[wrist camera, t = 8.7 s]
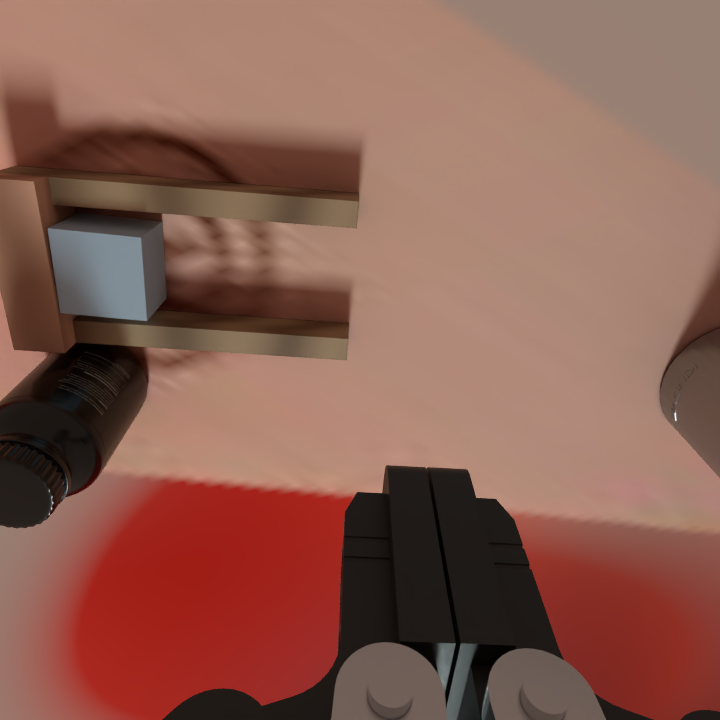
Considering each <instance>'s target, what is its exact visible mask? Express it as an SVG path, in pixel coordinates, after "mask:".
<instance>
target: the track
mask: <svg viewBox="0 0 720 720" xmlns="http://www.w3.org/2000/svg"><path fill="white" fill-rule="evenodd" d="M75 207H87V208H100V209H113V210H126V211H139V212H152V213H165V214H178V215H191V216H204V217H217V218H230V219H243V220H256V221H269V222H282V223H295V224H308V225H320V226H333V227H346V228H357V221H358V208H359V193H350V192H338V191H325V190H313V189H300V188H288V187H275V186H263V185H250V184H238V183H225V182H213V181H200V180H188V179H175V178H163V177H150V176H138V175H125V174H113V173H100V172H88V171H75V170H63V169H50V168H38V167H25V166H14V167H10V168H6V169H2V170H0V291H1V295H2V299H3V304H4V308H5V312H6V317H7V321H8V326H9V330H10V334H11V339H12V343H13V348H14V350H25V351H41V352H56V353H66V352H67V351H68V350H69V349H70V348H71V347H72V346H73V345H74V344H75V343H76V342H77V343H92V344H108V345H123V346H138V347H153V348H168V349H183V350H199V351H214V352H229V353H244V354H259V355H274V356H289V357H305V358H320V359H335V360H347V350H348V331H349V323H337V322H322V321H308V320H294V319H279V318H265V317H250V316H236V315H221V314H207V313H192V312H178V311H163V310H156V311H155V312H154V314H153V315H152V316H151V317H150V318H149V319H148V321H140V320H129V319H118V318H108V317H97V316H86V315H75V314H65V313H60V308H59V302H58V295H57V288H56V282H55V275H54V268H53V261H52V255H51V248H50V241H49V235H48V228H49V227H51V226H53V225H55V224H57V223H59V222H61V221H63V220H65V219H67V218H69V217H71V216H73V215H75V214H76V213H75Z"/></svg>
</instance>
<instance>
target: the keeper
mask: <svg viewBox="0 0 720 720" xmlns="http://www.w3.org/2000/svg"><path fill="white" fill-rule="evenodd" d="M48 235H49V241H50V248H51V255H52V261H53V268H54V275H55V282H56V288H57V295H58V302H59V308H60V313H65V314H75V315H86V316H97V317H108V318H118V319H129V320H140V321H148V319H149V318H150V317H151V316H152V315H153V314H154V312H155V311H156V310H157V309H158V308H159V306H160V305H161V304H162V303H163V302H164V301H165V299H166V298H167V292H166V274H165V256H164V237H163V221H155V220H145V219H135V218H126V217H116V216H106V215H96V214H87V213H77V214H75V215H73V216H71V217H69V218H67V219H65V220H63V221H61V222H59V223H57V224H55V225H53V226H51V227H49V228H48Z"/></svg>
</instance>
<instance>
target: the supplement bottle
mask: <svg viewBox="0 0 720 720" xmlns="http://www.w3.org/2000/svg"><path fill="white" fill-rule="evenodd" d="M146 396H147V380H146V376H145V373H144V371H143V369H142V367H141V365H140V364H139V362H138V361H137V360H136V359H135V358H134V357H133V356H132V355H131V354H130V353H129V352H128V351H127V350H125V349H124V348H122V347H121V346H119V345H108V344H92V343H77V342H76V343H75V344H74V345H73V346H72V347H71V348H70V349H69V350H68V351H67V352H66V353H56V352H52V353H51V354H50V355H49V356H47V357H46V358H45V359H44V360H43V361H42V362H41V363H40V364H39V365H38V366H37V367H36V368H35V369H34V370H33V371H32V372H31V373H30V374H28V375H27V376H26V377H25V378H24V379H23V380H22V381H21V382H20V383H19V384H18V385H17V386H16V387H15V388H14V389H13V390H12V391H11V392H10V393H8V394H7V395H6V396H5V397H4V398H3V399H2V400H1V401H0V525H3V526H6V527H14V528H20V527H21V528H27V527H32V526H35V525H36V524H41V523H42V522H43V521H44V520H46V519H48V517H49V516H50V515H51V514H52V513H53V511H54V510H55V509H56V507H57V506H58V504H60V503H61V502H62V501H63V499H64V498H65V497H68V496H72V495H74V494H77V493H79V492H81V491H83V490H84V489H86V488H88V487H89V486H90V485H91V484H92V483H93V482H94V481H95V480H96V479H97V478H98V476H99V475H100V473H101V472H102V470H103V469H104V467H105V466H106V464H107V462H108V461H109V459H110V458H111V456H112V454H113V453H114V451H115V450H116V448H117V446H118V445H119V443H120V442H121V440H122V438H123V437H124V435H125V434H126V432H127V430H128V429H129V427H130V426H131V424H132V422H133V421H134V419H135V418H136V416H137V414H138V413H139V411H140V409H141V407H142V406H143V404H144V401H145V399H146Z"/></svg>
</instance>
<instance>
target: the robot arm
mask: <svg viewBox="0 0 720 720" xmlns="http://www.w3.org/2000/svg"><path fill="white" fill-rule="evenodd" d="M660 404H661V407H662V411H663V413H664V415H665V417H666V418H667V420H668V421H669V422H670V424H671V425H672V426H673V427H674V428H675V429H676V430H677V431H678V432H679V433H680V434H681V436H682V437H683V438H684V439H685V440H686V441H687V442H688V443H689V444H690V445H691V447H692V448H693V449H694V450H695V451H696V452H697V453H698V455H699V456H700V457H701V458H702V459H703V460H704V461H705V462H706V463H707V464H708V465H709V467H710V468H711V469H712V470H713V471H714V472H715V473H716V474H717V475H718V476H719V478H720V328H719V329H716V330H714V331H712V332H710V333H708V334H705V335H703V336H701V337H700V338H698V339H697V340H696V341H694V342H693V343H691V344H690V345H688V346H687V347H686V348H685V349H684V350H683V351H682V352H681V353H680V354H679V355H678V356H677V357H676V359H675V360H674V361H673V362H672V364H671V365H670V366H669V368H668V370H667V372H666V374H665V376H664V378H663V382H662V385H661V389H660ZM529 565H530V564H529V561H528V558H527V556H526V553H525V550H524V549H523V548H522V541H521V538H520V535H519V532H518V530H517V527H516V524H515V521H514V519H513V518H512V517H511V516H510V515H509V513H508V512H507V511H506V510H505V509H504V508H503V507H502V505H501V504H500V503H499V502H498V501H497V500H496V499H486V498H476V496H475V492H474V489H473V485H472V481H471V478H470V474H469V472H468V470H466V469H450V468H431V467H428V468H427V469H426V468H425V467H408V466H389V465H386V468H385V474H384V483H383V492H382V493H363V492H357V494H356V495H355V497H354V498H353V500H352V502H351V503H350V505H349V506H348V508H347V510H346V511H345V521H344V537H343V550H342V566H341V584H340V611H339V636H338V656H337V658H336V660H335V662H334V664H333V667H332V668H331V669H330V671H329V672H328V673H327V675H326V676H325V677H324V678H323V679H322V680H321V681H320V682H319V683H317V684H316V685H315V686H313V687H312V688H310V689H308V690H307V691H305V692H303V693H301V694H298V695H295V696H293V697H290V698H286V699H283V700H280V701H277V702H274V703H270V704H267V705H264V706H261V705H260V704H259V703H258V701H256V700H255V699H254V698H252V697H251V696H249V695H247V694H245V693H243V692H240V691H237V690H233V689H213V690H208V691H204V692H201V693H199V694H197V695H194V696H192V697H190V698H189V699H187V700H186V701H184V702H183V703H181V704H180V705H179V706H177V707H176V708H175V709H174V710H173V711H171V712H170V713H169V714H168V715H167V716H166V717H165V718H164V719H163V720H653V719H650V718H647V717H644V716H641V715H639V714H636V713H633V712H630V711H627V710H625V709H622V708H620V707H617V706H615V705H612V704H611V703H609V702H607V701H605V700H603V699H602V698H600V697H599V696H598V695H596V694H595V693H594V692H593V691H592V689H591V687H590V686H589V684H588V683H587V682H586V680H585V679H584V678H583V677H582V675H581V674H580V673H579V672H578V671H577V670H576V669H574V668H573V667H572V666H571V665H570V664H568V663H567V662H565V661H564V659H563V657H562V655H561V653H560V650H559V648H558V645H557V642H556V639H555V636H554V633H553V631H552V628H551V625H550V622H549V619H548V616H547V613H546V610H545V607H544V605H543V602H542V599H541V596H540V593H539V590H538V587H537V584H536V581H535V579H534V576H533V573H532V570H530V568H529ZM681 720H720V712H717V711H711V710H699V711H694V712H691V713H689V714H687V715H685V716H684V717H683V718H682V719H681Z"/></svg>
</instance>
